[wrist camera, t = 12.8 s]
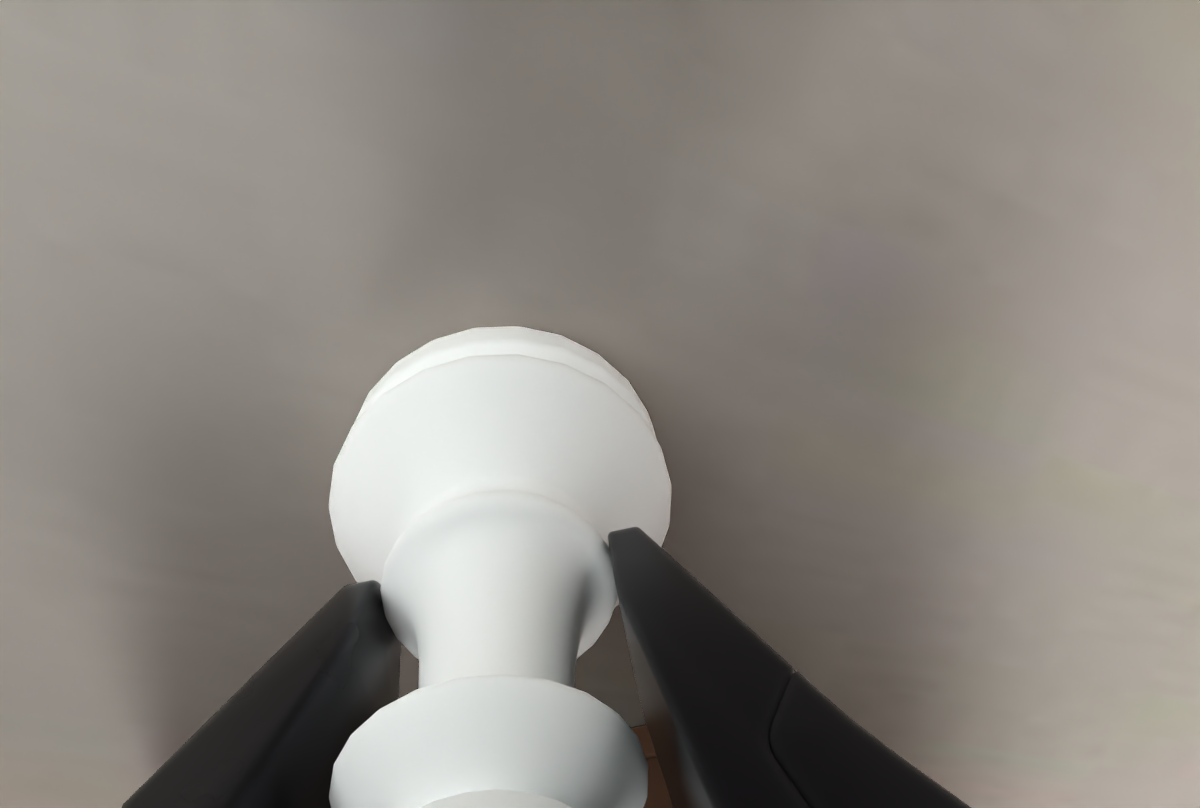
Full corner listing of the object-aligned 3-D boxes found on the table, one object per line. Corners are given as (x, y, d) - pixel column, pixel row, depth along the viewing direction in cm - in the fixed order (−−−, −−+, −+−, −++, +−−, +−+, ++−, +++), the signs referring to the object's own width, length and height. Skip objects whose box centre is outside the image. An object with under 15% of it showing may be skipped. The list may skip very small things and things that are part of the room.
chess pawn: (283, 450, 11) (-315, 1405, 3) (523, 253, 10) (525, 918, 2) (493, 628, 13) (447, 1498, 5) (712, 476, 12) (1071, 1257, 4)
